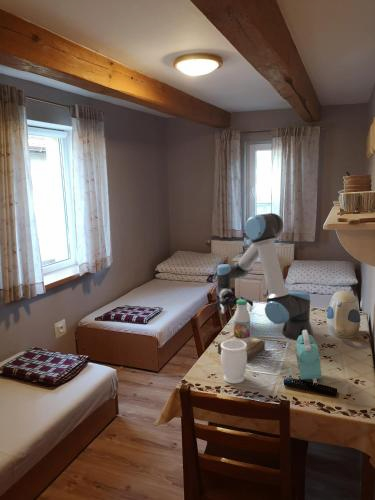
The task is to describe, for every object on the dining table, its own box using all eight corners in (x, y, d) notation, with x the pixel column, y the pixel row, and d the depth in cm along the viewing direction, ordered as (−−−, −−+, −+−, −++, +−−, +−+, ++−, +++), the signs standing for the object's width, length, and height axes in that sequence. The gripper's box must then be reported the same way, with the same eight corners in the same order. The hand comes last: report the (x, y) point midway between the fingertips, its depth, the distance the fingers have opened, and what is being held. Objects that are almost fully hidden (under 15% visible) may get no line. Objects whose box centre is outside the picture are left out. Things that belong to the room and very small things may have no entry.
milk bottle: (233, 338, 189) (232, 298, 185) (249, 337, 188) (249, 297, 185) (234, 344, 181) (234, 303, 178) (251, 344, 181) (251, 302, 177)
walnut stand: (264, 349, 187) (264, 339, 186) (247, 362, 174) (247, 351, 174) (236, 341, 197) (236, 332, 196) (218, 353, 184) (217, 343, 184)
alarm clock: (323, 390, 150) (324, 340, 146) (297, 388, 152) (298, 339, 148) (317, 368, 167) (319, 324, 163) (294, 367, 168) (295, 323, 165)
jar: (229, 387, 154) (228, 352, 151) (216, 376, 163) (216, 342, 160) (252, 381, 158) (251, 346, 155) (238, 370, 167) (238, 337, 164)
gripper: (250, 302, 213) (261, 315, 193) (205, 305, 211) (211, 319, 190) (250, 289, 212) (262, 301, 191) (204, 291, 209) (211, 304, 189)
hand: (237, 310), depth 191 cm, fingers open, 13 cm apart
